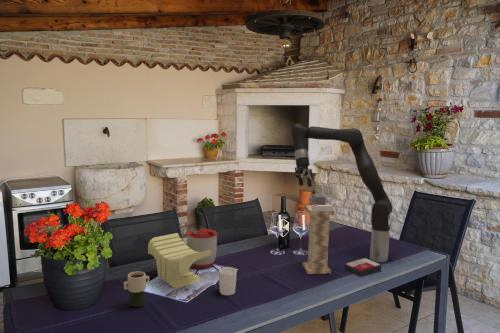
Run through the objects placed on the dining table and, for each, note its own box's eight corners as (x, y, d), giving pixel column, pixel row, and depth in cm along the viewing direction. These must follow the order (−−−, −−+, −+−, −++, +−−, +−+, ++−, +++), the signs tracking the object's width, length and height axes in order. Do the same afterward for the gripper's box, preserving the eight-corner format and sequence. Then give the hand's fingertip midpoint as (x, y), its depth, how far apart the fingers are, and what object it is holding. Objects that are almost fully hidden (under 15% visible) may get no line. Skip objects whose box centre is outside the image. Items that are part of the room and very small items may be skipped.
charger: (316, 201, 218) (316, 190, 218) (325, 209, 203) (325, 197, 202) (307, 201, 218) (307, 190, 217) (315, 209, 202) (316, 197, 201)
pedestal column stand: (324, 264, 215) (327, 205, 211) (331, 273, 204) (334, 211, 199) (301, 264, 214) (304, 205, 210) (307, 274, 202) (310, 211, 198)
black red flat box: (344, 263, 209) (365, 256, 217) (344, 270, 210) (365, 264, 218) (360, 270, 200) (381, 263, 208) (360, 278, 201) (381, 271, 208)
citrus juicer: (207, 256, 223) (208, 220, 220) (222, 267, 208) (222, 229, 205) (180, 261, 215) (180, 224, 212) (193, 272, 200) (194, 233, 197)
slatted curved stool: (148, 274, 197) (148, 238, 195) (177, 266, 207) (177, 232, 205) (179, 296, 174) (179, 256, 172) (210, 287, 185) (211, 249, 182)
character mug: (145, 298, 172) (145, 268, 171) (153, 304, 167) (153, 274, 165) (120, 305, 165) (120, 275, 164) (128, 312, 160) (127, 280, 158)
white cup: (229, 297, 175) (230, 275, 173) (214, 293, 179) (215, 271, 177) (239, 291, 181) (240, 269, 180) (225, 286, 185) (225, 265, 184)
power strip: (331, 209, 202) (331, 203, 201) (332, 211, 199) (333, 204, 199) (311, 209, 200) (311, 203, 200) (312, 211, 198) (313, 204, 197)
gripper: (303, 161, 239) (307, 188, 236) (289, 158, 229) (293, 186, 225) (314, 158, 235) (318, 185, 231) (300, 154, 224) (304, 183, 220)
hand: (305, 186), depth 228 cm, fingers open, 8 cm apart
